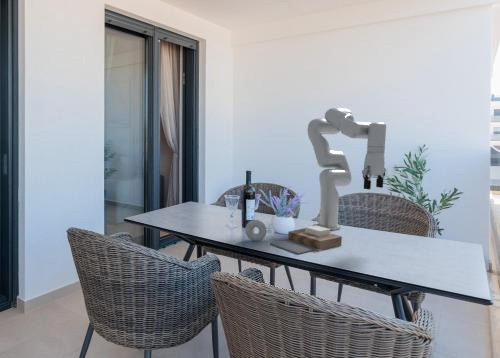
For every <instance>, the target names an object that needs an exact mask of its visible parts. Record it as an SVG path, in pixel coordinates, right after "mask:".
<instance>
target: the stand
mask: <svg viewBox="0 0 500 358" xmlns="http://www.w3.org/2000/svg"><path fill="white" fill-rule="evenodd" d="M287 232H288V235H287V236H288V237H287V238H288V239H289V240H292V241H295V242H298V243H301V244H304V245H307V246H310V247H313V248H316V249H317V250H319V251H323V250H326V249H327V250H328V249H330V248H334V247H338V246H342V242H343V239H342V238H343V237H342V235H338V234H335V233H331V232H330V234H329V235H324V236H316V235H313V234H309V233H306V232H305V228H300V229H294V230H290V231H287Z"/></svg>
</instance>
